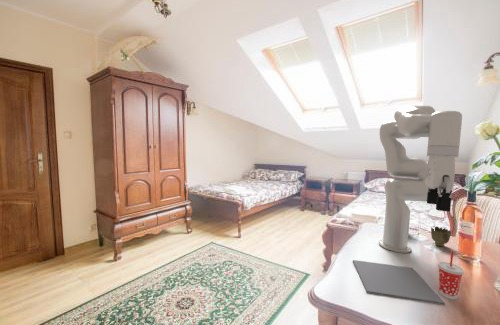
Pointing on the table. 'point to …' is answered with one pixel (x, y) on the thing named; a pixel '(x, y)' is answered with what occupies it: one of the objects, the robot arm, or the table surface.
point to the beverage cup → (449, 279)
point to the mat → (395, 282)
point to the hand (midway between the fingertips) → (437, 207)
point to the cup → (440, 236)
